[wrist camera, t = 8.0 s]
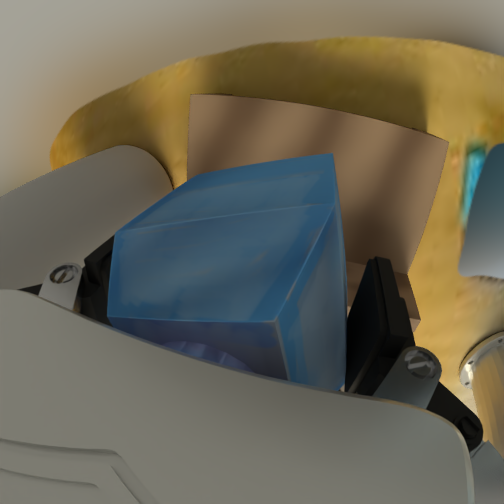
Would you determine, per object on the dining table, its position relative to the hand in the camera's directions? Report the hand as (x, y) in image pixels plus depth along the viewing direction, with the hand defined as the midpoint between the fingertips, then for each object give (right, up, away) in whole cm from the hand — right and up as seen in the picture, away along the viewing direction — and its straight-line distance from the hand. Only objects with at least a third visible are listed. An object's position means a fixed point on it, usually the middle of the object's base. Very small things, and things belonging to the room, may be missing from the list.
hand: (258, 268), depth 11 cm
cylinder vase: (-14, +7, +22) cm, 28 cm away
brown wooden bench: (+5, +8, +16) cm, 19 cm away
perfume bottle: (+1, +2, +3) cm, 4 cm away
